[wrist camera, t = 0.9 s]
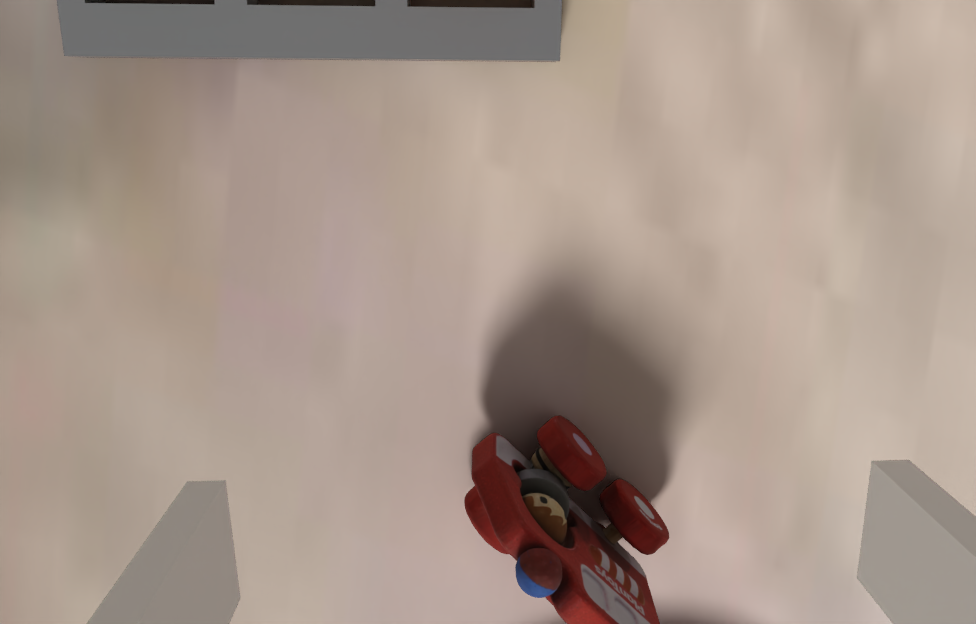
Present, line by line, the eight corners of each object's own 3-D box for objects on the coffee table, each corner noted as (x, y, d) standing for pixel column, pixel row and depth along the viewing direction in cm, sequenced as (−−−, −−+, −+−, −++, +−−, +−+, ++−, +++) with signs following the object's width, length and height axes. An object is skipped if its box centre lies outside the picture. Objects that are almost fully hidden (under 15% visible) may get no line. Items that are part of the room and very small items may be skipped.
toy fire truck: (530, 379, 42) (549, 472, 32) (678, 527, 44) (738, 655, 34) (436, 462, 43) (427, 576, 33) (586, 601, 46) (619, 745, 36)
